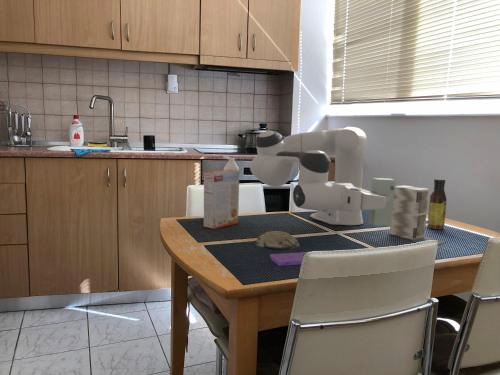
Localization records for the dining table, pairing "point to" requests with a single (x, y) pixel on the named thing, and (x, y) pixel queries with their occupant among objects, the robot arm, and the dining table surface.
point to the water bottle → (230, 164)
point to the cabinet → (410, 213)
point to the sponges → (287, 258)
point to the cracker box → (221, 198)
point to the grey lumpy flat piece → (277, 240)
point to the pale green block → (386, 189)
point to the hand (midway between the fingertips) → (384, 197)
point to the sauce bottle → (437, 206)
